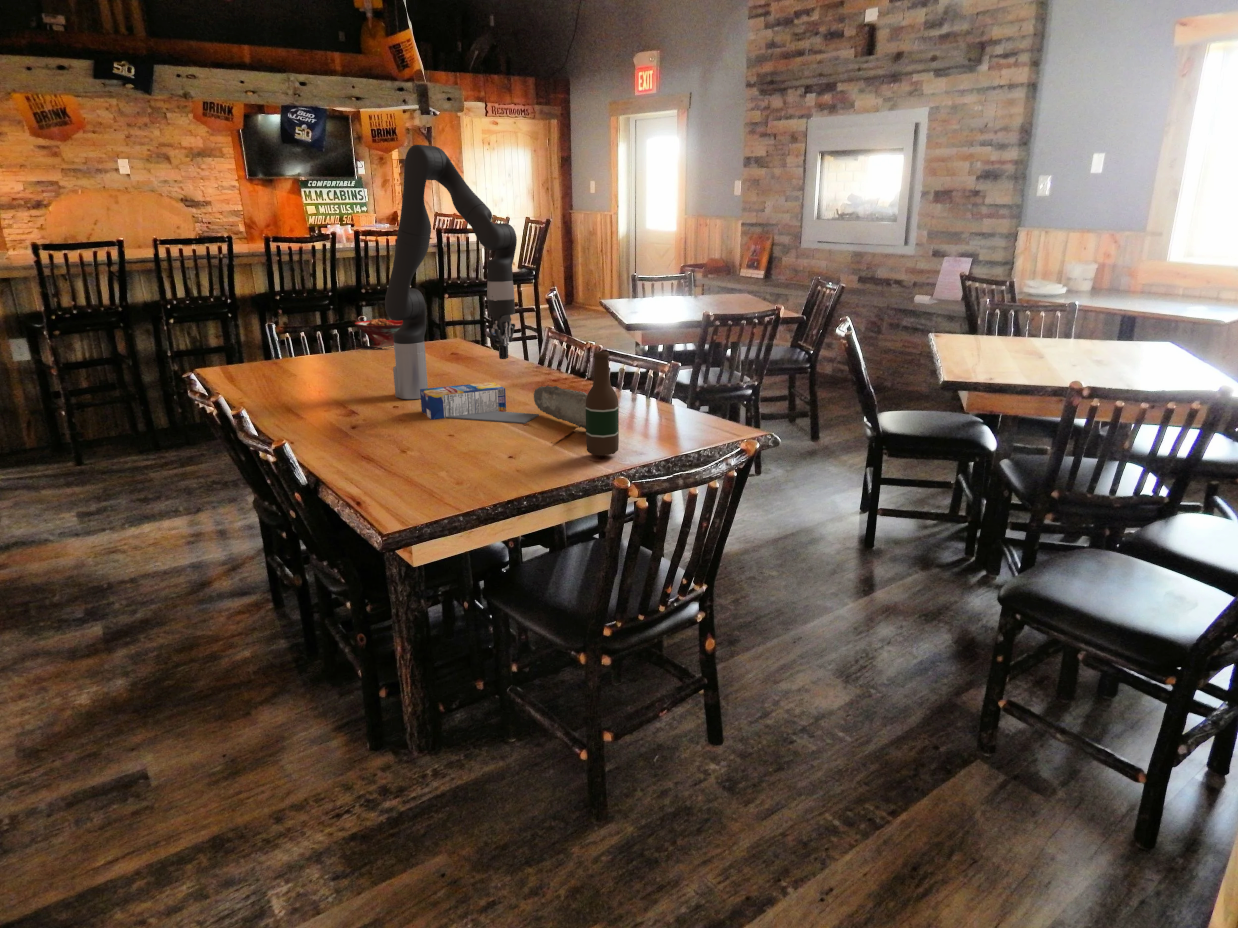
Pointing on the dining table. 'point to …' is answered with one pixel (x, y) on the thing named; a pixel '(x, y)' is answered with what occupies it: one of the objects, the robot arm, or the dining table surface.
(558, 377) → the dining table surface
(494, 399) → the beverage box
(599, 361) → the beer bottle
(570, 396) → the elongated rock
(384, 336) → the stew
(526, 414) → the mat
